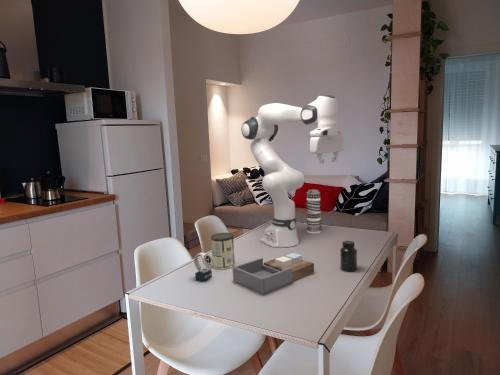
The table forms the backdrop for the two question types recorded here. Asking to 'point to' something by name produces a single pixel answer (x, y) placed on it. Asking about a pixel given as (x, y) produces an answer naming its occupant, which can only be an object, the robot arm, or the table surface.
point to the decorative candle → (313, 211)
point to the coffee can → (222, 250)
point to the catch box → (261, 276)
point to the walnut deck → (294, 268)
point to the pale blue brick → (294, 258)
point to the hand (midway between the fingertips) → (327, 162)
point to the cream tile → (283, 261)
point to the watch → (203, 273)
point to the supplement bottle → (348, 257)
